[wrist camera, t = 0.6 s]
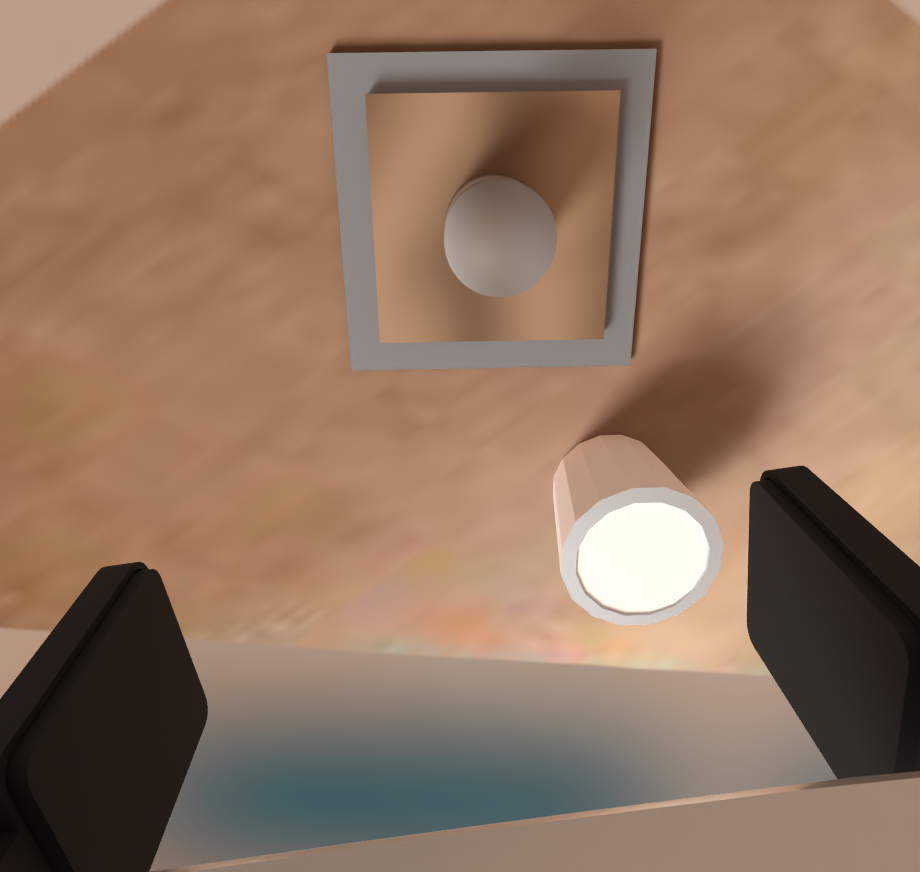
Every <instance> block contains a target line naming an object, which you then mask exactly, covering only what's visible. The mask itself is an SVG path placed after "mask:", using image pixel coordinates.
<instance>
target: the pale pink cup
mask: <svg viewBox="0 0 920 872" xmlns="http://www.w3.org/2000/svg"><path fill="white" fill-rule="evenodd" d="M553 500H554V510H555V520H556V530H557V540H558V550H559V561H560V571H561V576H562V578H563V581H564V583H565V585H566V587H567V589H568V592H569V594H570V596H571V598H572V600H574V601H575V602H576V603H577V604H578V605H580V606H581V607H582V608H583V609H584V610H586V611H587V612H588V613H589V614H590V615H592V616H593V617H596V618H599V619H602V620H605V621H609V622H612V623H615V624H618V625H649V624H654V623H656V622H659V621H662V620H665V619H668V618H671V617H673V616H676V615H679V614H681V613H682V612H684V611H685V610H686V609H687V608H689V607H690V606H691V605H693V604H694V603H695V602H697V601H698V600H699V599H700V598H702V597H703V596H704V595H705V594H706V592H707V591H708V589H709V587H710V586H711V584H712V583H713V581H714V579H715V578H716V576H717V575H718V573H719V571H720V567H721V560H722V553H723V546H724V542H723V539H722V536H721V534H720V531H719V528H718V525H717V522H716V519H715V517H714V516H713V515H712V514H711V513H710V512H709V511H708V510H707V509H706V508H705V507H704V506H703V504H702V503H701V502H700V501H699V500H698V499H697V498H696V497H695V496H694V495H693V494H692V493H691V492H690V491H689V490H688V489H687V488H686V487H685V486H684V485H683V483H682V482H681V481H680V480H679V479H678V478H677V477H676V476H675V475H674V474H673V473H672V472H671V471H670V470H669V469H668V468H667V467H666V466H665V465H664V463H663V462H662V461H661V460H660V459H659V458H658V457H657V456H656V455H655V454H654V453H653V452H652V451H651V450H650V449H649V448H648V447H647V446H646V445H645V444H643V443H642V442H641V441H638V440H635V439H632V438H630V437H627V436H624V435H599V436H597V437H594V438H592V439H589V440H587V441H584V442H582V443H579V444H578V445H577V446H576V447H575V448H574V449H572V450H571V451H570V452H569V453H568V454H567V455H566V456H565V457H564V458H563V459H562V461H561V463H560V465H559V467H558V469H557V471H556V473H555V475H554V485H553Z"/></svg>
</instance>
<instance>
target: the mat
mask: <svg viewBox="0 0 920 872" xmlns="http://www.w3.org/2000/svg"><path fill="white" fill-rule="evenodd" d="M656 54H657V49H593V50H521V51H449V52H378V53H327V66H328V79H329V92H330V105H331V118H332V131H333V143H334V156H335V169H336V182H337V195H338V208H339V221H340V234H341V247H342V259H343V272H344V285H345V298H346V311H347V324H348V337H349V350H350V362H351V370H397V369H454V368H511V367H567V366H624V365H630V362H631V351H632V339H633V327H634V315H635V303H636V291H637V279H638V268H639V256H640V244H641V232H642V220H643V208H644V196H645V184H646V173H647V161H648V149H649V137H650V125H651V113H652V101H653V90H654V78H655V66H656ZM602 90H621V92H620V107H619V122H618V137H617V151H616V166H615V181H614V196H613V210H612V225H611V240H610V255H609V269H608V284H607V299H606V313H605V328H604V339H581V340H523V341H465V342H407V343H380V335H379V318H378V302H377V285H376V268H375V252H374V235H373V218H372V201H371V185H370V168H369V151H368V135H367V118H366V101H365V94H394V93H464V92H533V91H602Z"/></svg>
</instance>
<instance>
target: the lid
mask: <svg viewBox="0 0 920 872" xmlns="http://www.w3.org/2000/svg"><path fill="white" fill-rule="evenodd" d="M620 92H621V90H602V91H533V92H464V93H394V94H365V101H366V118H367V135H368V151H369V168H370V185H371V201H372V218H373V235H374V252H375V268H376V285H377V302H378V318H379V335H380V343H407V342H465V341H523V340H581V339H604V328H605V313H606V299H607V284H608V269H609V255H610V240H611V225H612V210H613V196H614V181H615V166H616V151H617V137H618V122H619V107H620Z"/></svg>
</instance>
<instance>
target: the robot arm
mask: <svg viewBox="0 0 920 872" xmlns="http://www.w3.org/2000/svg"><path fill="white" fill-rule="evenodd" d="M747 628H748V633H749V636H750V639H751V642H752V644H753V646H754V648H755V649H756V651H757V652H758V654H759V656H760V657H761V659H762V660H763V662H764V663H765V665H766V667H767V668H768V670H769V671H770V673H771V675H772V676H773V678H774V679H775V681H776V682H777V684H778V686H779V687H780V689H781V690H782V692H783V693H784V695H785V696H786V698H787V700H788V701H789V703H790V704H791V706H792V708H793V709H794V711H795V712H796V714H797V716H798V717H799V719H800V720H801V722H802V723H803V725H804V727H805V728H806V730H807V731H808V733H809V734H810V736H811V738H812V739H813V741H814V742H815V744H816V746H817V747H818V749H819V750H820V752H821V753H822V755H823V757H824V758H825V760H826V761H827V763H828V764H829V766H830V768H831V769H832V771H833V772H834V774H835V775H836V777H837V780H829V781H823V782H814V783H807V784H797V785H788V786H780V787H771V788H763V789H755V790H747V791H739V792H732V793H724V794H716V795H709V796H701V797H693V798H686V799H678V800H670V801H663V802H655V803H648V804H639V805H632V806H624V807H617V808H609V809H601V810H593V811H585V812H578V813H570V814H563V815H555V816H548V817H541V818H533V819H526V820H518V821H511V822H503V823H496V824H489V825H481V826H474V827H466V828H459V829H451V830H444V831H437V832H430V833H422V834H415V835H408V836H400V837H393V838H386V839H378V840H372V841H364V842H356V843H349V844H342V845H335V846H328V847H320V848H313V849H307V850H300V851H292V852H285V853H279V854H271V855H264V856H257V857H250V858H243V859H236V860H229V861H222V862H215V863H209V864H201V865H194V866H187V867H180V868H173V869H166V870H159V871H151V872H920V567H919V566H918V565H917V564H916V563H915V562H914V561H913V560H911V559H910V558H909V557H908V556H907V555H906V554H905V553H904V552H902V551H901V550H900V549H899V548H898V547H897V546H896V545H894V544H893V543H892V542H891V541H890V540H889V539H888V538H886V537H885V536H884V535H883V534H882V533H881V532H880V531H879V530H877V529H876V528H875V527H874V526H873V525H872V524H871V523H869V522H868V521H867V520H866V519H865V518H864V517H863V516H861V515H860V514H859V513H858V512H857V511H856V510H855V509H854V508H852V507H851V506H850V505H849V504H848V503H847V502H846V501H844V500H843V499H842V498H841V497H840V496H839V495H838V494H837V493H835V492H834V491H833V490H832V489H831V488H830V487H829V486H827V485H826V484H825V483H824V482H823V481H822V480H821V479H819V478H818V477H817V476H816V475H815V474H814V473H813V472H812V471H810V470H809V469H808V468H807V467H805V466H795V467H788V468H782V469H775V470H768V471H765V472H764V473H762V476H761V479H760V481H756V482H753V483H752V484H751V487H750V508H749V551H748V593H747ZM207 710H208V706H207V700H206V697H205V694H204V691H203V688H202V686H201V683H200V680H199V678H198V675H197V672H196V670H195V667H194V664H193V662H192V659H191V657H190V654H189V651H188V648H187V646H186V643H185V640H184V638H183V635H182V632H181V630H180V627H179V624H178V622H177V619H176V616H175V614H174V611H173V608H172V606H171V603H170V600H169V598H168V595H167V592H166V590H165V587H164V584H163V582H162V579H161V577H160V575H159V573H158V572H157V571H156V570H154V569H150V570H149V569H148V567H147V566H146V565H145V564H144V563H141V562H135V563H128V564H121V565H114V566H107V567H103V568H101V569H100V570H99V571H98V572H97V573H96V575H95V576H94V577H93V578H92V580H91V581H90V582H89V584H88V585H87V586H86V588H85V589H84V590H83V592H82V593H81V594H80V595H79V597H78V598H77V599H76V601H75V602H74V603H73V605H72V606H71V607H70V609H69V610H68V611H67V612H66V614H65V615H64V616H63V618H62V619H61V620H60V622H59V623H58V624H57V626H56V627H55V628H54V629H53V631H52V632H51V633H50V635H49V636H48V638H47V639H46V640H45V641H44V643H43V644H42V645H41V646H40V648H39V649H38V651H37V652H36V653H35V654H34V656H33V657H32V658H31V660H30V661H29V662H28V664H27V665H26V666H25V668H24V669H23V670H22V672H21V673H20V674H19V676H18V677H17V678H16V679H15V681H14V682H13V683H12V684H11V686H10V687H9V689H8V690H7V691H6V692H5V694H4V695H3V696H2V698H1V699H0V872H149V870H150V868H151V865H152V863H153V860H154V857H155V855H156V852H157V850H158V847H159V844H160V842H161V839H162V836H163V834H164V831H165V829H166V826H167V823H168V821H169V818H170V816H171V813H172V810H173V808H174V805H175V802H176V800H177V797H178V794H179V792H180V789H181V787H182V784H183V782H184V779H185V776H186V774H187V771H188V768H189V766H190V763H191V761H192V758H193V755H194V753H195V750H196V748H197V745H198V742H199V740H200V737H201V734H202V732H203V729H204V727H205V724H206V720H207V714H208V711H207Z"/></svg>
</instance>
